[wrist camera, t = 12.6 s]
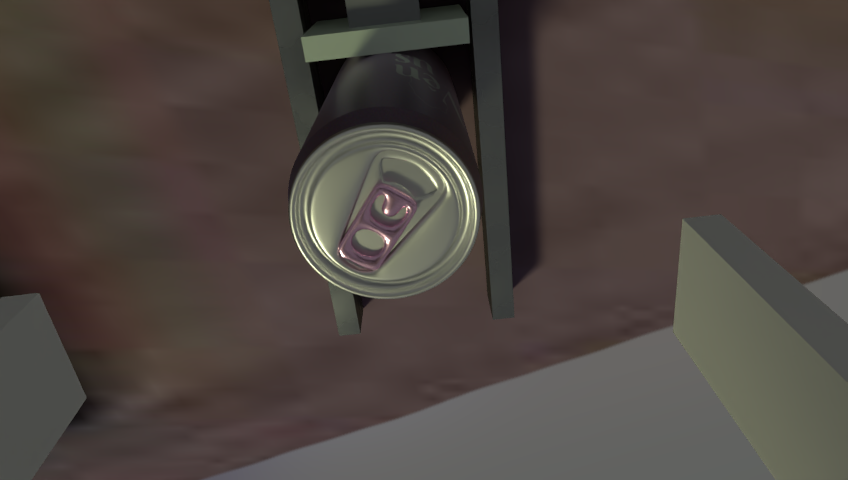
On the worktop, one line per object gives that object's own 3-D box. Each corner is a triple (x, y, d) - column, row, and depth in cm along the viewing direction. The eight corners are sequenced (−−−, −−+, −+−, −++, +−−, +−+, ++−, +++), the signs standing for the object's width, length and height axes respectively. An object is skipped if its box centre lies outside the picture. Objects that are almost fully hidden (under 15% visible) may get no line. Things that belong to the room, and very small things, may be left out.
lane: (343, 311, 37) (332, 375, 32) (253, -138, 27) (214, -155, 21) (507, 293, 37) (524, 355, 31) (481, -167, 26) (500, -192, 21)
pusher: (321, 42, 30) (305, 62, 25) (307, -34, 28) (288, -27, 24) (460, 26, 30) (470, 43, 25) (454, -52, 28) (463, -49, 24)
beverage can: (315, 115, 32) (247, 250, 18) (372, 9, 29) (341, 75, 16) (415, 171, 33) (419, 334, 20) (476, 74, 31) (528, 184, 17)
